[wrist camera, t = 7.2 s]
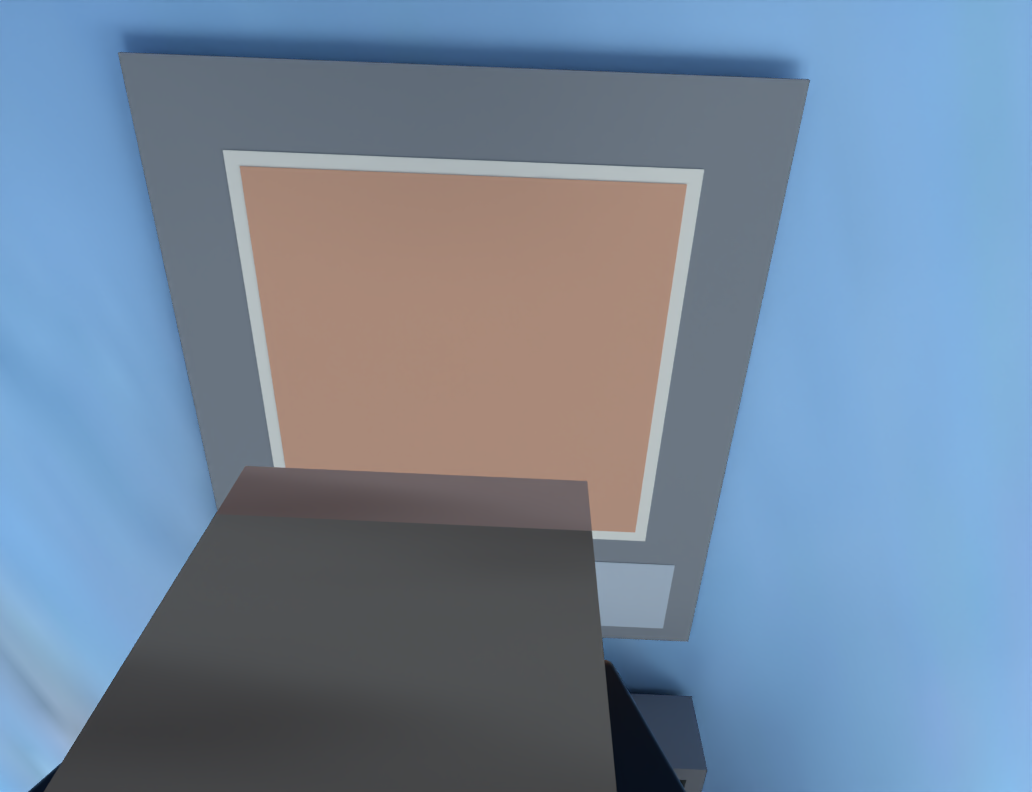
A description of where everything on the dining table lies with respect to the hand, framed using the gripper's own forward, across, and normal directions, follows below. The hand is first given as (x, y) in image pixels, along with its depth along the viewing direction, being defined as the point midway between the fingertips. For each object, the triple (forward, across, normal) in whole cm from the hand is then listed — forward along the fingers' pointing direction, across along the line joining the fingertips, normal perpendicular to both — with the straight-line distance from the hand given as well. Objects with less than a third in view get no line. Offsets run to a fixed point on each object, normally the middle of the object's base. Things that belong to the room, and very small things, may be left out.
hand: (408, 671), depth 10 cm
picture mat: (+8, 0, +1) cm, 8 cm away
